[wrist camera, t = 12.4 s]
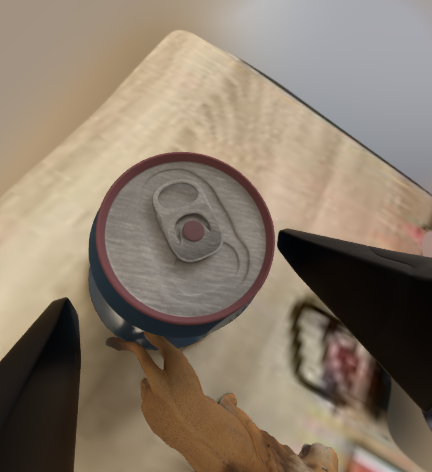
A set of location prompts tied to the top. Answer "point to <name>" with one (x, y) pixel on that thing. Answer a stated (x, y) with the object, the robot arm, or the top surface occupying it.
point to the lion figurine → (211, 421)
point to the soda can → (181, 245)
